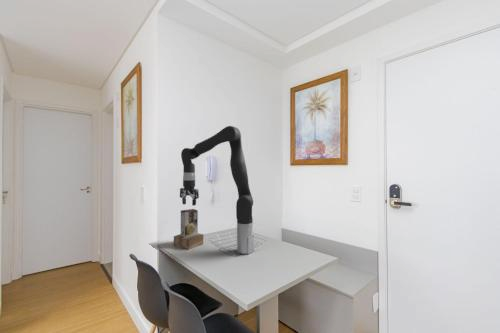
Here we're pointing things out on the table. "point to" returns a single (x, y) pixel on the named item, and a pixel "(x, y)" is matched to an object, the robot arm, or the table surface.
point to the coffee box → (189, 223)
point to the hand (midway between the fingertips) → (189, 204)
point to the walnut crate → (188, 241)
